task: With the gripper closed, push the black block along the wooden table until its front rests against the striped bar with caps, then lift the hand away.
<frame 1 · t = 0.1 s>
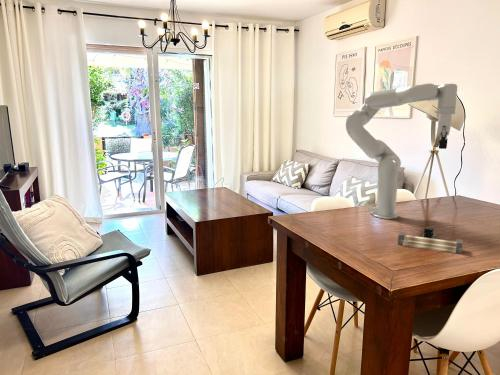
hand: (442, 147, 179), 37 cm above the table, tool pointing down, fingers open, 9 cm apart
striped bar with caps: (428, 246, 151), on the table
black block: (428, 238, 163), on the table
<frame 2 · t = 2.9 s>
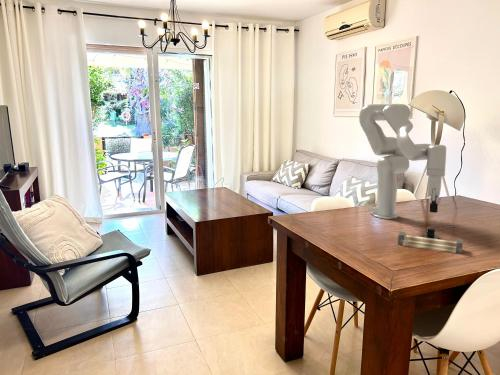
hand: (433, 211, 172), 8 cm above the table, tool pointing down, fingers closed
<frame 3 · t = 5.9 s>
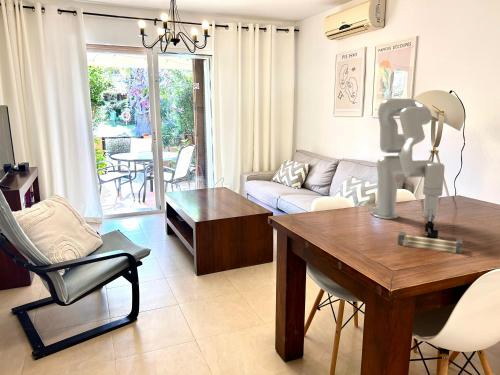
hand: (429, 231, 166), 1 cm above the table, tool pointing down, fingers closed
black block: (432, 239, 162), on the table, touching gripper
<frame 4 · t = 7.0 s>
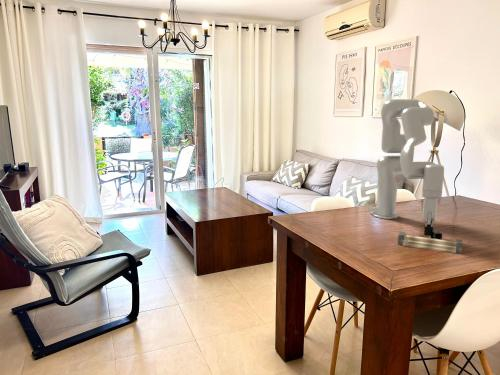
hand: (428, 235, 162), 1 cm above the table, tool pointing down, fingers closed
black block: (435, 242, 158), on the table
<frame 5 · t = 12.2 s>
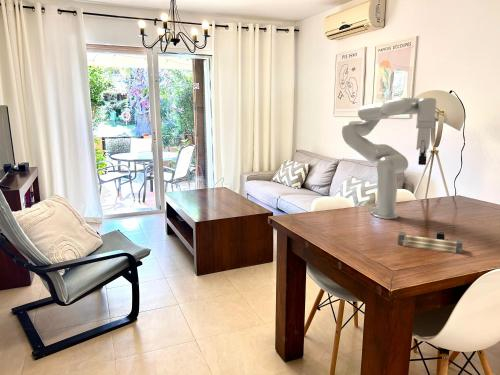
hand: (422, 164, 177), 29 cm above the table, tool pointing down, fingers closed
black block: (439, 243, 157), on the table
at the end: black block inside the target area (3.9 cm from its centre), on the table; black block tilted 0°; black block 9.6 cm from the striped bar with caps (horizontally) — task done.
